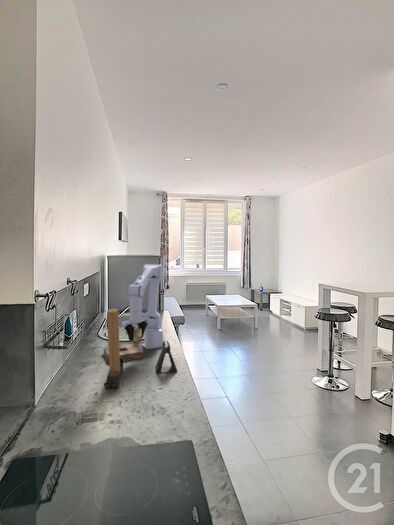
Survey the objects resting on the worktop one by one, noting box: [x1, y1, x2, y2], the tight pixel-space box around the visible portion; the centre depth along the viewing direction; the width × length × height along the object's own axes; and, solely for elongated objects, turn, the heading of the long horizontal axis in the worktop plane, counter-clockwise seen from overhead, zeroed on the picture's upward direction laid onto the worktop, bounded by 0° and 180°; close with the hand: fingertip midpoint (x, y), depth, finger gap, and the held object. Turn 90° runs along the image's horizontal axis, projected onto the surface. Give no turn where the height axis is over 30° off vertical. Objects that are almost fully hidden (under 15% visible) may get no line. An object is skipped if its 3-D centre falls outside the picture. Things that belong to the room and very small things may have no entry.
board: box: [103, 343, 145, 362], centre depth 148 cm, size 16×14×3 cm
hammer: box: [103, 308, 125, 389], centre depth 117 cm, size 20×5×30 cm, turn 7°
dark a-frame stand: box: [155, 340, 178, 375], centre depth 130 cm, size 9×6×12 cm, turn 100°
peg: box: [130, 327, 143, 347], centre depth 141 cm, size 5×5×8 cm
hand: (136, 338), depth 141 cm, fingers closed on peg, 5 cm apart
